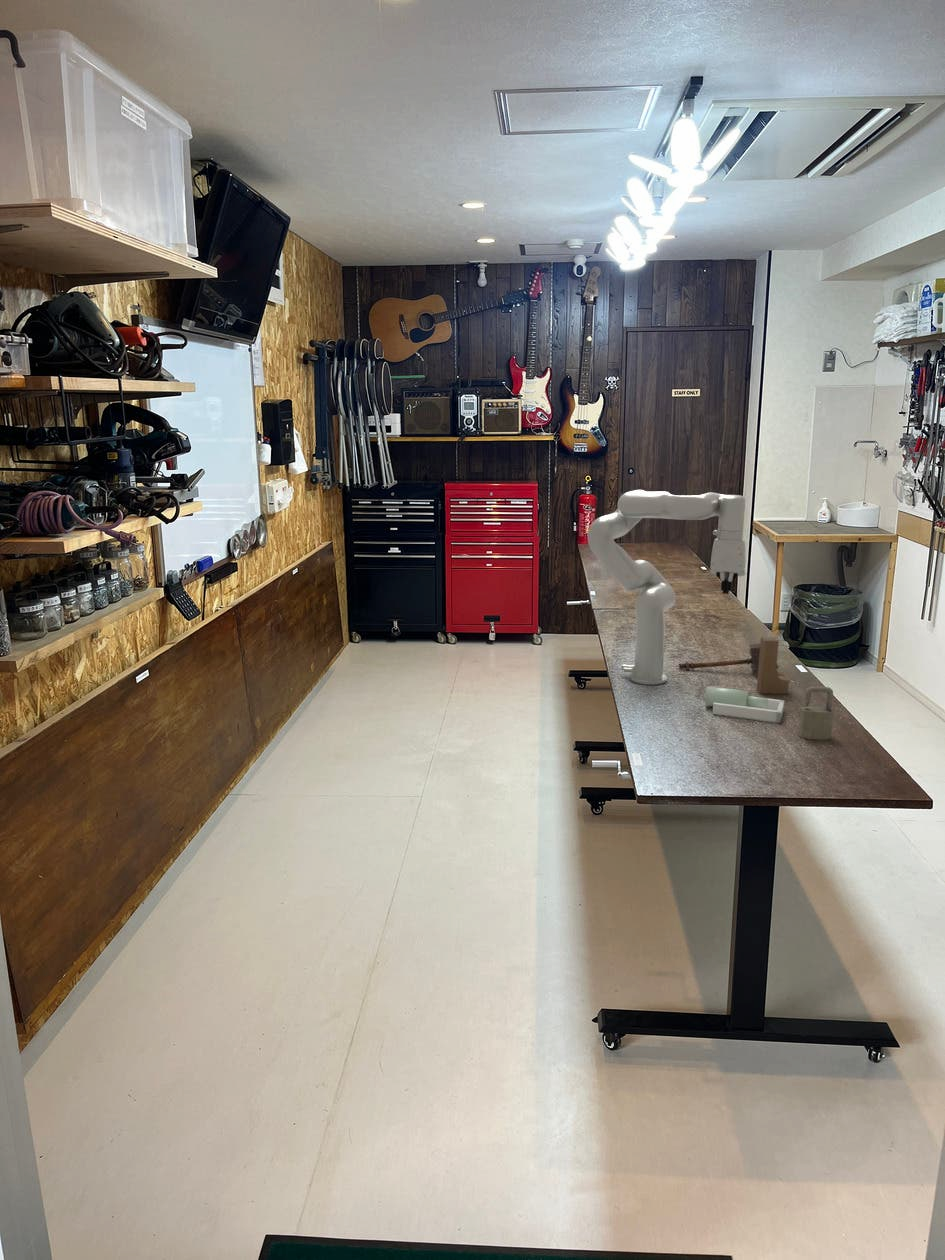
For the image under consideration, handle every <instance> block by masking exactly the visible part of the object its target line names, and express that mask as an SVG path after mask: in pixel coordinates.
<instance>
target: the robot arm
mask: <svg viewBox="0 0 945 1260" xmlns="http://www.w3.org/2000/svg"><path fill="white" fill-rule="evenodd" d="M745 511H746V499H745V497H744V496H743V495H740V494H739V495H738V494H721V493H717V492H706V493H703V494H699V495H675V494H671V493H670V492H669V491H646V490H643V489H635V490H634V489H633V490H631V491H627V492H625V493H623V494H621V496H620V497H619V498H618V501H617V508H616V509H615V511H613V512H612V513H609V514H605V515H602V516H600V517H597V518H596V519H595V520H593V522H592V523H591V525H590V526H589V529H588V531H587V542H588V546H589V548H590V550H591V552H592V554H594V556H595V557H596V558H597V559H598V560H599V562H600V563H601V564H602V565H603V567H604V568H605V569H606V570H607V571H608V572H609V574H611V576H612V578H614V580H615V581H616V582H617V583H618V584H619V586H620V587H621V588H622V589H623V590H625V591H626V592H629V593H632V592H633V593H634V592H636V591H640V592H639V594H638V595H637V596H636V599H635V602H634V611H635V618H636V619H635V647H634V664H631V665H629V664H621V670H622V671H623V672H625V673H629V677H628V678H629V680H630V681H631V682H632V683H636V684H640V685H646V686H647V685H649V686H650V685H651V686H652V685H654V686H655V685H656V686H657V685H662V684H664V683H666V682H667V681H668V677H667V675H666V674H664V659H665V657H664V656H665V637H666V635H665V634H666V624H665V623H666V622H665V612H666V611H669V610H671V609H672V608H673V607H674V606H675V604H676V600H677V599H676V597H677V595H676V593H675V592H676V591H675V590H674V589H673V587H672V586H671V585H670V583H669V582H668V581H667V580H666V579H665V578H664V576H663V575H662V574H661V573H660V572H659V571H658V569H657V568H656V567H655V566H654V565H653V564H652V563H651V562H649V561H647V560H643V559H636V560H634V559H633V558H632V557H631V556H630V555H629V554H628V553H627V551H626V550H625V549H624V548H623V547H622V546H620V545H619V544H617V543H616V541H615V540H616V539H618V538H621V537H623V536H625V535H627V534H628V533H629V532H630V531H631V530H632V529H633V528H634V527H635V526H636V525H637V524H638V523H639V522H640V521H641V520H642V519H666V520H678V521H679V520H682V521H684V520H685V521H689V520H690V521H701V520H707V519H709V518H712V517H717V516H718V526H717V527H718V528H717V529H715V530H713V531H712V535H714V536H716V538H715V539H714V540H713V545H712V550H711V557H710V567H709V569H710V570H709V573H710V574H711V575H715V576H717V577H718V578H719V579H720V581H721V583H720V591H722V594H723V595H725V594H726V595H728V594H730V592H731V591H732V586H733V584H732V583H733V580H735V579H736V578H738V577H744V576H745V575H746V571H745V568H746V567H745V566H746V544H745V543H746V542H745V541H746V540H744V539H743V538H744V537H743V536H744V524H745V523H744V522H745ZM726 573H729V576H728V578H727V577H726Z"/></svg>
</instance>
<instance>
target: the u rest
mask: <svg viewBox="0 0 945 1260" xmlns="http://www.w3.org/2000/svg"><path fill="white" fill-rule="evenodd" d="M784 709H785V700H784V699H783V700H782V699H776V698H768V704H767V708H761V707H753V706H747V707H745V706H737V705H730V704H722V703H714V704H713V706H712V715H714V714H718V715H717V716H722V715H725V716H724V717H729V716H730V717H731V718H737V719H738V718H739V719H745V720H752V721H753V720H754V721H760V722H766V723H774V724H781V721H782V718H783V714H784V711H785V710H784ZM730 717H729V718H730Z"/></svg>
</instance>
